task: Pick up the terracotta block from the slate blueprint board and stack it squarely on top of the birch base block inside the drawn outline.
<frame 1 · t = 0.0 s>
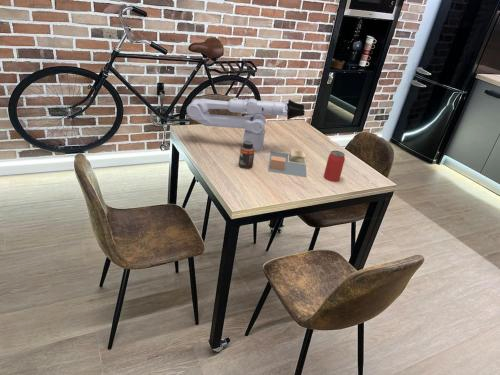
hand: (304, 110, 163), 22 cm above the table, tool horizontal, fingers open, 7 cm apart
supplement bottle: (245, 167, 157), on the table
base block: (296, 159, 168), point 1 cm above the table, touching blueprint board
beer can: (330, 180, 157), on the table
terracotta block: (276, 167, 159), point 1 cm above the table, touching blueprint board
blueprint board: (287, 165, 164), on the table
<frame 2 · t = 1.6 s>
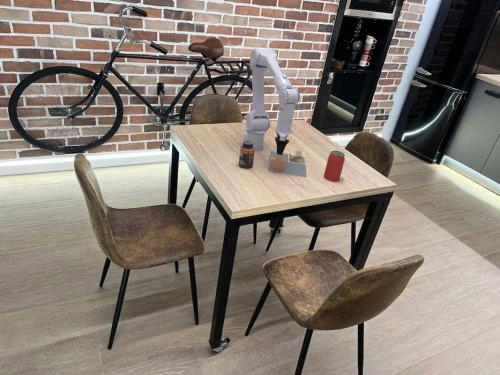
hand: (279, 150, 155), 8 cm above the table, tool pointing down, fingers open, 7 cm apart
nothing on the table moved.
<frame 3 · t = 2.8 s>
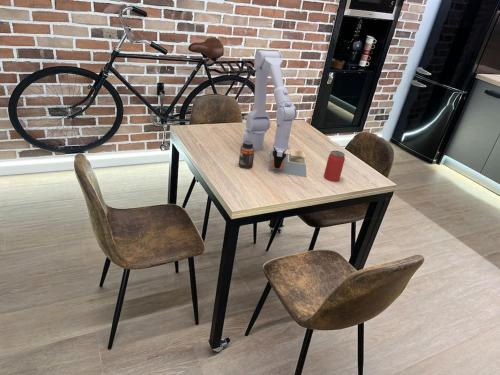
hand: (277, 165, 158), 2 cm above the table, tool pointing down, fingers closed on terracotta block, 4 cm apart
terracotta block: (276, 167, 159), point 1 cm above the table, touching blueprint board, gripper
everything else where it was.
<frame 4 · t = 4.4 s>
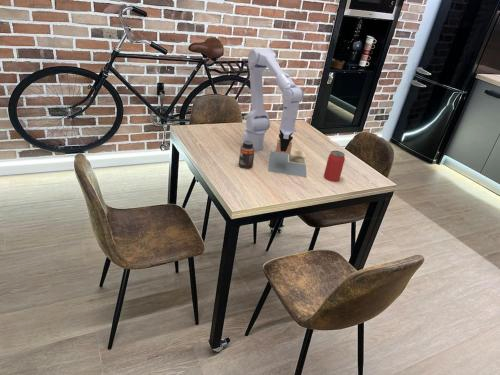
hand: (283, 148, 157), 9 cm above the table, tool pointing down, fingers closed on terracotta block, 4 cm apart
terracotta block: (283, 151, 157), point 8 cm above the table, touching gripper
everything else where it was.
when the fingers open (6 cm above the table, at t = 6.0 s): terracotta block stays where it is, resting on base block.
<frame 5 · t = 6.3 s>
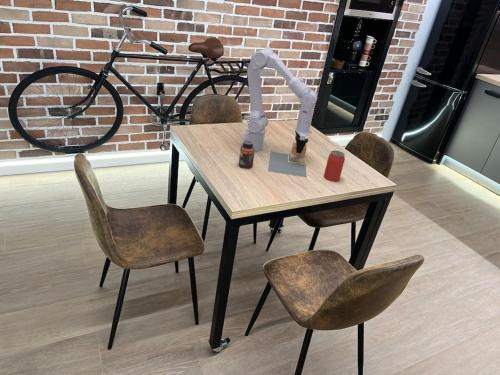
hand: (298, 149, 166), 6 cm above the table, tool pointing down, fingers open, 6 cm apart
base block: (296, 159, 168), point 1 cm above the table, touching blueprint board, terracotta block
terracotta block: (298, 153, 167), point 4 cm above the table, touching base block
everything else where it was.
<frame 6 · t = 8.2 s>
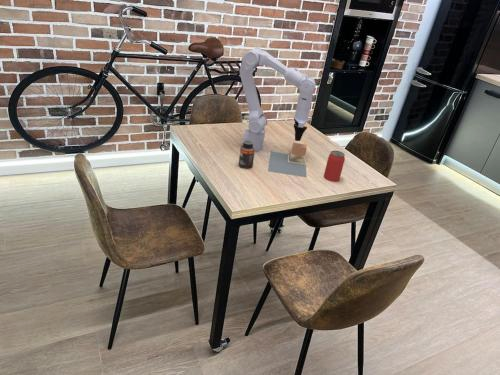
hand: (297, 137, 165), 10 cm above the table, tool pointing down, fingers open, 7 cm apart
nothing on the table moved.
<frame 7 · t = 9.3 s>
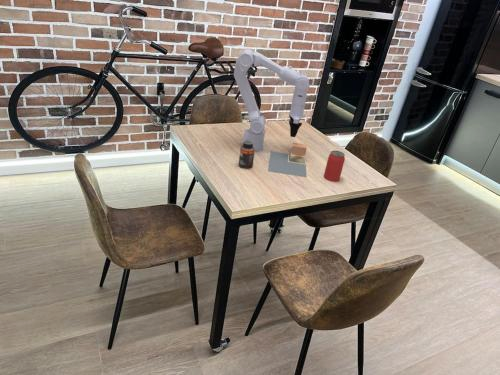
hand: (292, 133, 169), 10 cm above the table, tool pointing down, fingers open, 7 cm apart
nothing on the table moved.
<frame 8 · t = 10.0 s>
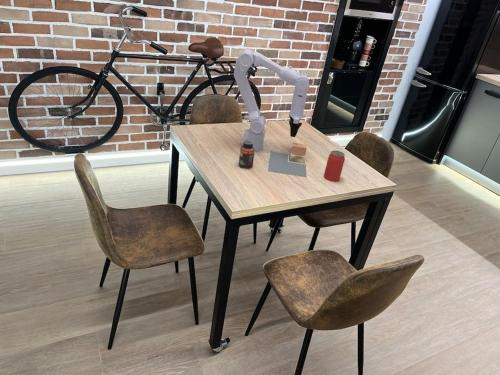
hand: (292, 133, 169), 10 cm above the table, tool pointing down, fingers open, 7 cm apart
nothing on the table moved.
at the end: terracotta block 0.1 cm off-centre on the base block, point 3.0 cm above the base block's base; terracotta block tilted 0°; terracotta block touching base block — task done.
